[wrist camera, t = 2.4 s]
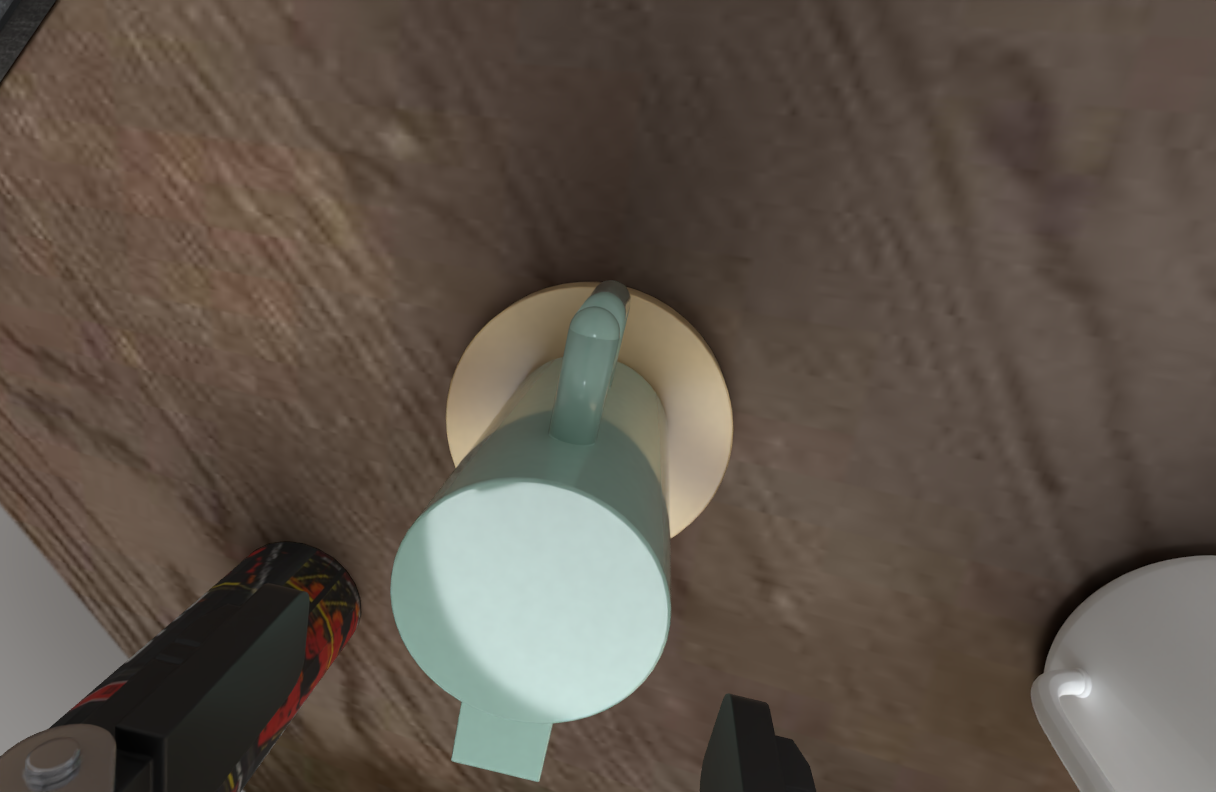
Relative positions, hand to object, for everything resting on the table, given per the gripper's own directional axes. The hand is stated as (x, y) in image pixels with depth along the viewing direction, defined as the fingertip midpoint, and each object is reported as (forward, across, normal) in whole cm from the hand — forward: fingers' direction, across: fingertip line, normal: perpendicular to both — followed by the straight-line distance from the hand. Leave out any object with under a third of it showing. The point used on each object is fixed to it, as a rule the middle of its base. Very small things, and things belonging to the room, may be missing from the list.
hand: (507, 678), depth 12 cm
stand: (+15, 0, 0) cm, 15 cm away
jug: (+13, 0, -1) cm, 13 cm away
